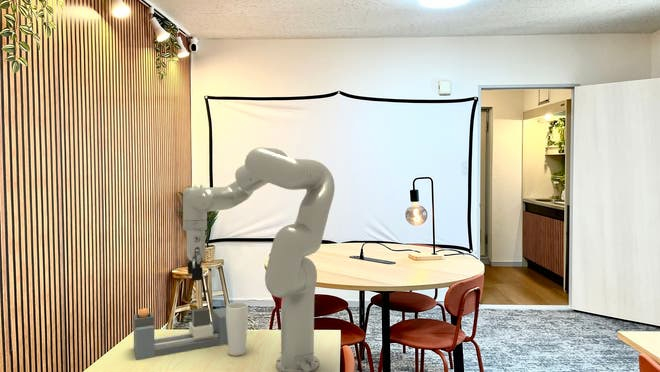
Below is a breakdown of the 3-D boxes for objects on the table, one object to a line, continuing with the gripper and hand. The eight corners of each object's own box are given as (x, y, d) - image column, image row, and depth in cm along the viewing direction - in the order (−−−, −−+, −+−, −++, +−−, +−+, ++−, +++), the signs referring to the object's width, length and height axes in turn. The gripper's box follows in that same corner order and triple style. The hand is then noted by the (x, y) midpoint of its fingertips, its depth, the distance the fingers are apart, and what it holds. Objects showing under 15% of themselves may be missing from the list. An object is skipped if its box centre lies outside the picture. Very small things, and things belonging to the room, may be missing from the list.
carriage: (207, 328, 153) (207, 305, 153) (212, 335, 146) (212, 311, 146) (189, 331, 151) (189, 307, 150) (194, 338, 144) (194, 313, 143)
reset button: (147, 317, 142) (147, 307, 142) (149, 319, 139) (148, 310, 139) (138, 318, 141) (138, 308, 141) (139, 321, 138) (139, 311, 138)
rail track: (226, 333, 158) (226, 300, 157) (234, 342, 149) (234, 307, 149) (133, 348, 143) (132, 312, 143) (136, 359, 135) (135, 321, 134)
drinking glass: (242, 358, 136) (242, 309, 136) (222, 356, 137) (221, 307, 137) (251, 349, 143) (251, 302, 142) (231, 348, 144) (231, 301, 144)
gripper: (211, 227, 141) (211, 281, 142) (202, 222, 157) (202, 270, 157) (186, 228, 138) (186, 284, 139) (180, 222, 154) (179, 272, 154)
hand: (194, 276), depth 148 cm, fingers open, 9 cm apart
